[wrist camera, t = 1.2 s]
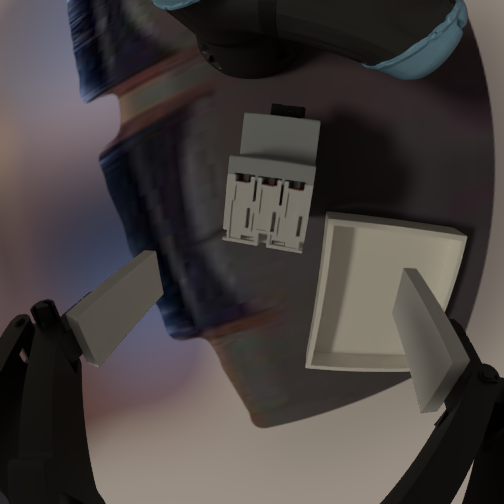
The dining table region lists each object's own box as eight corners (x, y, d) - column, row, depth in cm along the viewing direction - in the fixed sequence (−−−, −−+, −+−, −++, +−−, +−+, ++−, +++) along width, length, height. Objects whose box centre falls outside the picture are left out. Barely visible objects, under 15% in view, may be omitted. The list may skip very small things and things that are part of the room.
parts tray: (326, 211, 37) (328, 218, 33) (453, 227, 34) (467, 236, 30) (306, 351, 47) (305, 367, 43) (412, 355, 43) (418, 371, 39)
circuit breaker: (318, 118, 33) (324, 98, 19) (304, 217, 38) (301, 256, 25) (264, 112, 34) (237, 89, 20) (252, 209, 40) (222, 242, 26)
